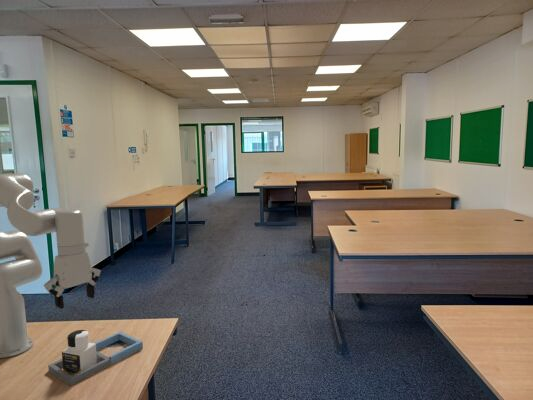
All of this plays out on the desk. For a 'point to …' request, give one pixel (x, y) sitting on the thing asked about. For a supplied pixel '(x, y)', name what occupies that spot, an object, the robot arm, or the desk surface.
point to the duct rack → (99, 358)
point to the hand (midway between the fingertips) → (75, 302)
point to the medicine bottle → (79, 352)
